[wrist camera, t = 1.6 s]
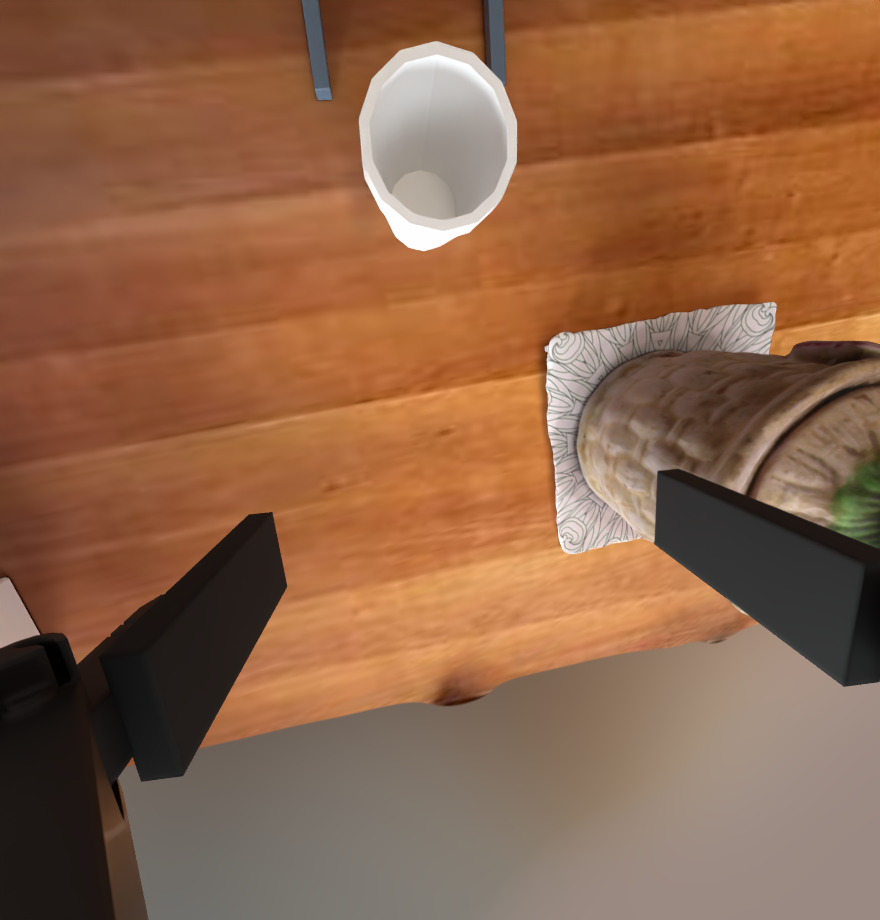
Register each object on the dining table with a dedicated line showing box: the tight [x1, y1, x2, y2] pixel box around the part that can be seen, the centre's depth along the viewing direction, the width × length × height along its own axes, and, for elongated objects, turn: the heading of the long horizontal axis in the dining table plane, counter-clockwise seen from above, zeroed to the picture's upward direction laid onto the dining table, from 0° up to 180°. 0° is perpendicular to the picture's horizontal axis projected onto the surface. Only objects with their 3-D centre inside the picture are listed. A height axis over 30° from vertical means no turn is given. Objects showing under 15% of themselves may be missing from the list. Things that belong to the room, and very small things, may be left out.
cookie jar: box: [545, 302, 880, 616], centre depth 30 cm, size 25×25×32 cm
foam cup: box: [359, 41, 517, 251], centre depth 30 cm, size 10×9×13 cm
